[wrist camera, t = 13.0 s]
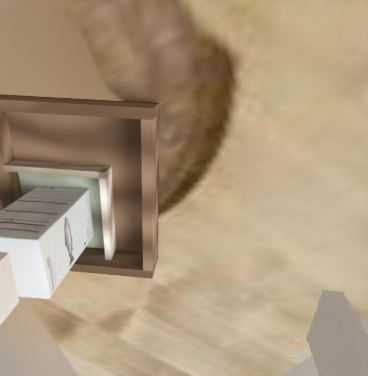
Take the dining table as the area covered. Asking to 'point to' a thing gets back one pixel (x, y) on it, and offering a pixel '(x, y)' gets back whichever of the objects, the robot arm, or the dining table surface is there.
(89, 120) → the crate
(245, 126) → the dining table surface
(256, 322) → the dining table surface
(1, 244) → the supplement box
